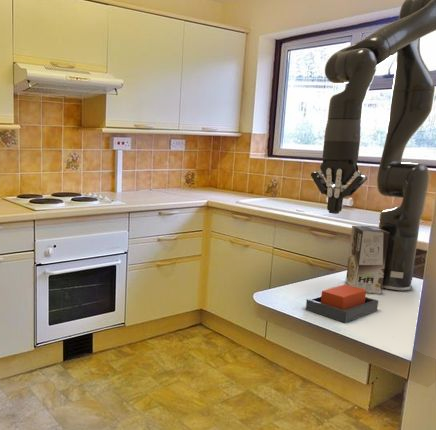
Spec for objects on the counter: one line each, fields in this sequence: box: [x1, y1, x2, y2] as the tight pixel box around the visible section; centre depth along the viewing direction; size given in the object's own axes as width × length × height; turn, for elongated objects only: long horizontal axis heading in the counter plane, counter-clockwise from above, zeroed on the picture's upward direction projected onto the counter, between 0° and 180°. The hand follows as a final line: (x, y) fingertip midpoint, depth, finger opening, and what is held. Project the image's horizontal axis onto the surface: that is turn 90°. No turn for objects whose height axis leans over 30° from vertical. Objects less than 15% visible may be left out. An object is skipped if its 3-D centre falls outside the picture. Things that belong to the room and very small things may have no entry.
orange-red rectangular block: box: [320, 283, 367, 310], centre depth 104 cm, size 10×5×4 cm, turn 125°
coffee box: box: [345, 225, 389, 295], centre depth 120 cm, size 9×6×16 cm
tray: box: [305, 294, 379, 324], centre depth 104 cm, size 14×9×2 cm, turn 126°
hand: (333, 213), depth 109 cm, fingers closed
